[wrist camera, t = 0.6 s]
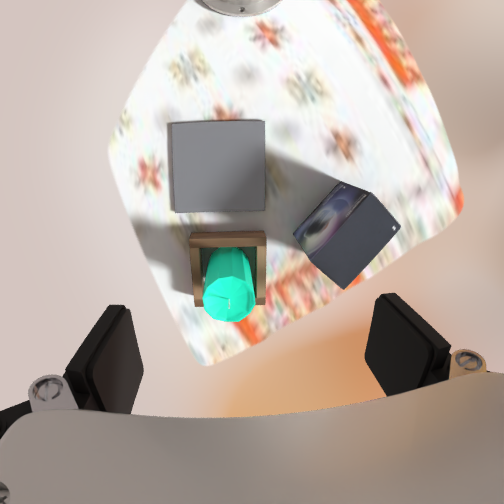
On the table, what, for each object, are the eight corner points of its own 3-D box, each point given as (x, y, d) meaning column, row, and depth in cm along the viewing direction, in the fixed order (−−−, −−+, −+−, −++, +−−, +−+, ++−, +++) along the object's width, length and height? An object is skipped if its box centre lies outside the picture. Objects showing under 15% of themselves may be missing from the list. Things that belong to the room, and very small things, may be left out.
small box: (339, 177, 40) (372, 189, 30) (368, 207, 42) (404, 227, 32) (289, 233, 42) (308, 260, 32) (321, 260, 44) (345, 292, 34)
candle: (199, 268, 43) (190, 312, 32) (224, 237, 41) (223, 272, 30) (232, 291, 44) (234, 339, 33) (258, 261, 43) (268, 303, 32)
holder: (191, 232, 41) (189, 239, 38) (263, 230, 42) (266, 237, 39) (196, 296, 44) (194, 306, 42) (263, 294, 45) (265, 304, 42)
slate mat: (172, 124, 36) (171, 123, 35) (264, 121, 36) (265, 121, 36) (176, 212, 40) (175, 213, 39) (264, 209, 41) (264, 210, 40)
